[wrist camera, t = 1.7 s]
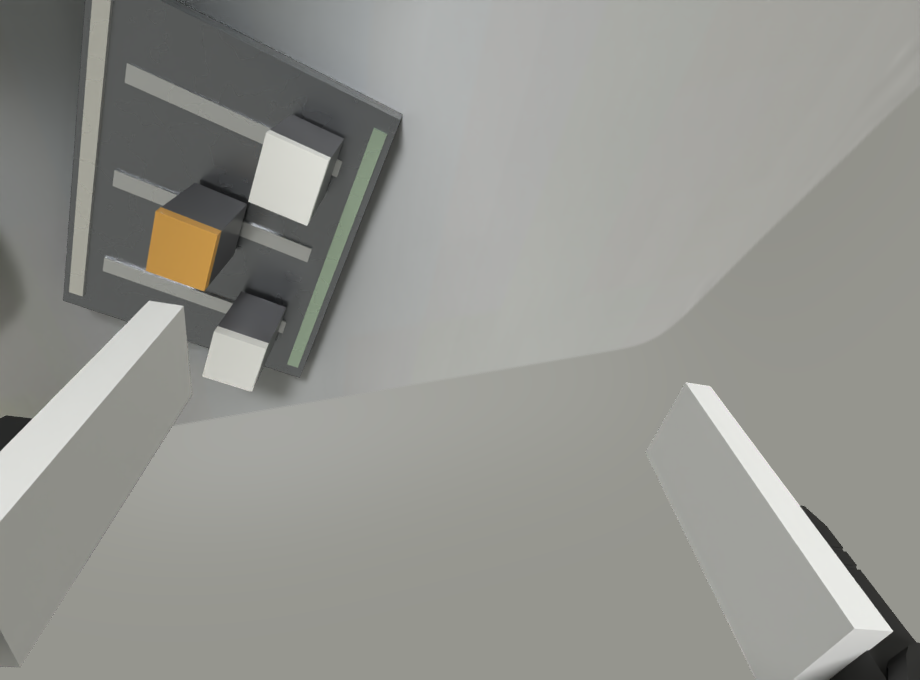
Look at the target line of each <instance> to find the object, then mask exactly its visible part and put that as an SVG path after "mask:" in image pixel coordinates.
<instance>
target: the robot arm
mask: <svg viewBox="0 0 920 680" xmlns="http://www.w3.org/2000/svg"><path fill="white" fill-rule="evenodd" d="M191 396H192V388H191V378H190V367H189V356H188V346H187V335H186V325H185V314H184V306H181V305H175V304H168V303H161V302H155V301H148V302H147V303H146V304H145V305H144V306H143V307H142V308H141V309H140V310H139V311H138V312H137V313H136V314H135V316H134V317H133V318H132V319H131V320H130V321H129V322H128V323H127V324H126V325H125V326H124V327H123V328H122V329H121V330H120V331H119V332H118V333H117V334H116V335H115V336H114V337H113V338H112V339H111V340H110V341H109V342H108V343H107V344H106V345H105V346H104V347H103V348H102V349H101V350H100V351H99V352H98V353H97V354H96V355H95V356H94V357H93V358H92V359H91V360H90V361H89V362H88V363H87V364H86V365H85V366H84V367H83V368H82V369H81V370H80V371H79V372H78V373H77V374H76V375H75V376H74V377H73V378H72V379H71V380H70V381H69V382H68V383H67V384H66V385H65V386H64V387H63V388H62V389H61V390H60V391H59V392H58V393H57V394H56V396H55V397H54V398H53V399H52V400H51V401H50V402H49V403H48V404H47V405H46V406H45V407H44V408H43V409H42V410H41V411H40V412H39V413H38V414H37V415H36V416H35V417H34V418H33V419H32V418H23V417H14V416H4V417H2V418H0V667H21V665H22V664H23V662H24V660H25V659H26V658H27V656H28V654H29V653H30V651H31V650H32V648H33V646H34V645H35V643H36V642H37V640H38V638H39V637H40V635H41V634H42V632H43V630H44V629H45V627H46V626H47V624H48V623H49V621H50V619H51V618H52V616H53V615H54V613H55V611H56V610H57V608H58V607H59V605H60V604H61V602H62V600H63V599H64V597H65V596H66V594H67V592H68V591H69V589H70V588H71V586H72V584H73V583H74V581H75V580H76V578H77V577H78V575H79V573H80V572H81V570H82V569H83V567H84V566H85V564H86V562H87V561H88V559H89V558H90V556H91V554H92V553H93V551H94V550H95V548H96V547H97V545H98V543H99V542H100V540H101V539H102V537H103V535H104V534H105V532H106V531H107V529H108V527H109V526H110V524H111V523H112V521H113V519H114V518H115V516H116V515H117V513H118V511H119V510H120V508H121V507H122V505H123V504H124V502H125V500H126V499H127V497H128V496H129V494H130V492H131V491H132V489H133V488H134V486H135V485H136V483H137V481H138V480H139V478H140V477H141V475H142V474H143V472H144V470H145V469H146V467H147V466H148V464H149V462H150V461H151V459H152V457H153V456H154V454H155V453H156V451H157V450H158V448H159V447H160V445H161V443H162V442H163V440H164V439H165V437H166V435H167V434H168V432H169V431H170V429H171V428H172V426H173V424H174V423H175V421H176V420H177V418H178V416H179V415H180V413H181V412H182V410H183V409H184V407H185V405H186V404H187V402H188V401H189V399H190V397H191ZM645 453H646V455H647V457H648V459H649V461H650V463H651V465H652V467H653V470H654V472H655V474H656V476H657V478H658V480H659V482H660V484H661V486H662V488H663V490H664V492H665V494H666V496H667V498H668V500H669V503H670V505H671V507H672V508H673V511H674V513H675V515H676V517H677V519H678V521H679V523H680V525H681V527H682V529H683V531H684V533H685V535H686V538H687V540H688V542H689V543H690V546H691V548H692V550H693V552H694V554H695V556H696V558H697V560H698V562H699V564H700V566H701V568H702V571H703V572H704V574H705V577H706V578H707V581H708V583H709V585H710V587H711V589H712V591H713V593H714V595H715V597H716V599H717V601H718V604H719V606H720V607H721V610H722V612H723V614H724V616H725V618H726V620H727V621H728V624H729V626H730V628H731V630H732V632H733V634H734V636H735V639H736V641H737V643H738V645H739V647H740V649H741V651H742V653H743V655H744V657H745V659H746V661H747V663H748V665H749V667H750V669H751V672H752V674H753V676H754V678H755V680H920V643H917V642H916V641H915V640H914V639H913V638H912V636H911V635H910V634H909V633H908V631H907V630H906V629H905V628H904V626H903V625H902V624H901V622H900V621H899V620H898V619H897V617H896V616H895V614H894V613H893V612H892V611H891V609H890V608H889V607H888V605H887V604H886V603H885V602H884V600H883V599H882V598H881V596H880V595H879V594H878V592H877V591H876V590H875V588H874V587H873V586H872V585H871V583H870V582H869V581H868V580H867V578H866V577H865V575H864V574H863V573H862V572H861V570H857V568H856V564H855V562H854V561H853V560H852V559H851V557H850V556H849V555H848V553H847V552H844V551H843V550H842V549H843V547H842V546H841V544H840V543H839V542H838V541H837V539H836V538H835V536H834V535H833V534H832V533H831V531H830V530H829V529H828V527H827V526H826V525H825V524H824V523H823V522H821V521H820V520H819V519H818V518H817V517H816V516H815V515H814V514H812V513H811V512H810V511H809V510H808V509H807V508H806V507H804V506H799V504H798V503H797V502H796V500H795V499H794V498H793V496H792V495H791V494H790V492H789V491H788V490H787V488H786V487H785V486H784V484H783V483H782V482H781V480H780V479H779V478H778V476H777V475H776V474H775V472H774V471H773V470H772V468H771V467H770V466H769V465H768V463H767V462H766V460H765V459H764V457H763V456H762V455H761V454H760V452H759V451H758V449H757V448H756V447H755V445H754V444H753V443H752V441H751V440H750V439H749V437H748V436H747V435H746V433H745V432H744V431H743V429H742V428H741V427H740V425H739V424H738V423H737V421H736V420H735V419H734V417H733V416H732V415H731V413H730V412H729V411H728V409H727V408H726V407H725V405H724V404H723V403H722V401H721V400H720V399H719V397H718V396H717V395H716V393H715V392H714V390H713V389H712V388H711V387H710V386H705V385H699V384H692V383H685V384H684V386H683V388H682V390H681V391H680V393H679V395H678V396H677V398H676V400H675V402H674V403H673V405H672V407H671V409H670V410H669V412H668V414H667V416H666V417H665V419H664V421H663V423H662V424H661V426H660V428H659V429H658V432H657V433H656V435H655V436H654V438H653V440H652V442H651V443H650V445H649V447H648V449H647V450H646V452H645Z"/></svg>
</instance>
